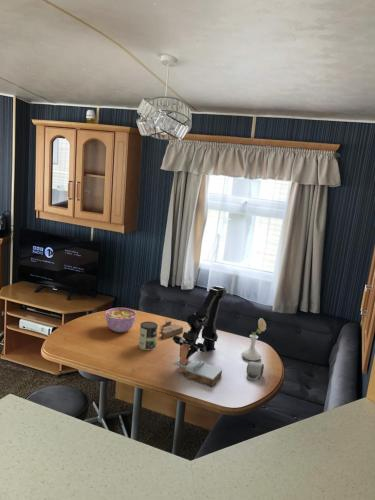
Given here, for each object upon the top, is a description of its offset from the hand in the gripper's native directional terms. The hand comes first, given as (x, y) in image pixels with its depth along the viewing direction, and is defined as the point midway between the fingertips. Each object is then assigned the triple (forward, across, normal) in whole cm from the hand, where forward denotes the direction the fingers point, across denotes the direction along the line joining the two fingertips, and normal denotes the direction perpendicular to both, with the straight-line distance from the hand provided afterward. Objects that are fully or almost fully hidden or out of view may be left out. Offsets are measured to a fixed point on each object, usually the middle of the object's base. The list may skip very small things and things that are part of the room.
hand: (183, 358), depth 212 cm
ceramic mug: (-8, +35, +19) cm, 40 cm away
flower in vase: (-23, +26, +34) cm, 49 cm away
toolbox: (+4, +12, +6) cm, 14 cm away
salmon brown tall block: (+4, 0, +6) cm, 8 cm away
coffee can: (-4, -31, +15) cm, 34 cm away
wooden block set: (-22, -34, +34) cm, 52 cm away
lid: (+2, +8, +4) cm, 9 cm away
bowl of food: (-10, -58, +21) cm, 63 cm away
